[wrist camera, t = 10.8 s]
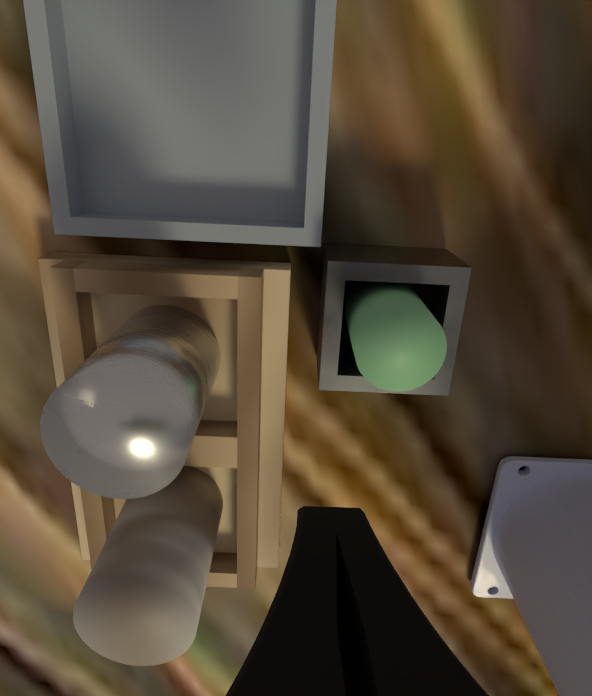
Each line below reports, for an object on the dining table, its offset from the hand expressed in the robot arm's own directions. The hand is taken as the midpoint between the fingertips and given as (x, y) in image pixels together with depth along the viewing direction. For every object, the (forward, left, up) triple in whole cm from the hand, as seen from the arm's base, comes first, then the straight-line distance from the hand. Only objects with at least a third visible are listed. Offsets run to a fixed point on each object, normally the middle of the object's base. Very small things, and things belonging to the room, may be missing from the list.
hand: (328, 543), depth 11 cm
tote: (+5, -9, -10) cm, 15 cm away
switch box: (-2, -2, -10) cm, 11 cm away
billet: (+6, 0, -9) cm, 11 cm away
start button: (-2, -2, -10) cm, 10 cm away
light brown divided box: (+6, +3, -10) cm, 12 cm away
